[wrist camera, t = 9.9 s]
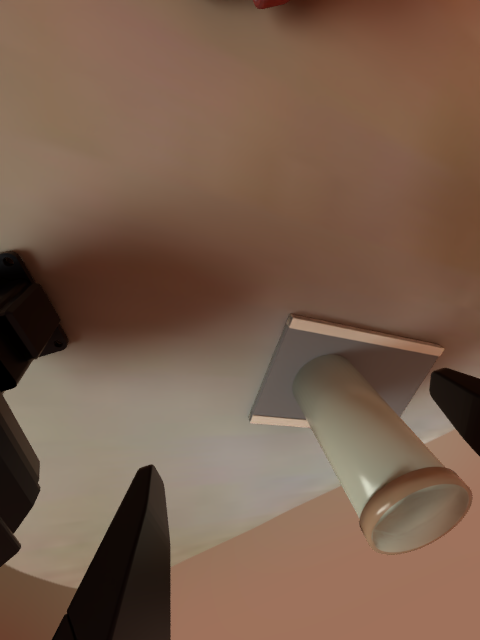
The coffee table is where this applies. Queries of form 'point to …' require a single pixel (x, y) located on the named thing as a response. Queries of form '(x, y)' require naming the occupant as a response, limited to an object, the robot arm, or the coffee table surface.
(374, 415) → the canister
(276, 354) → the mat
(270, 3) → the toy fire truck
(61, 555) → the coffee table surface
